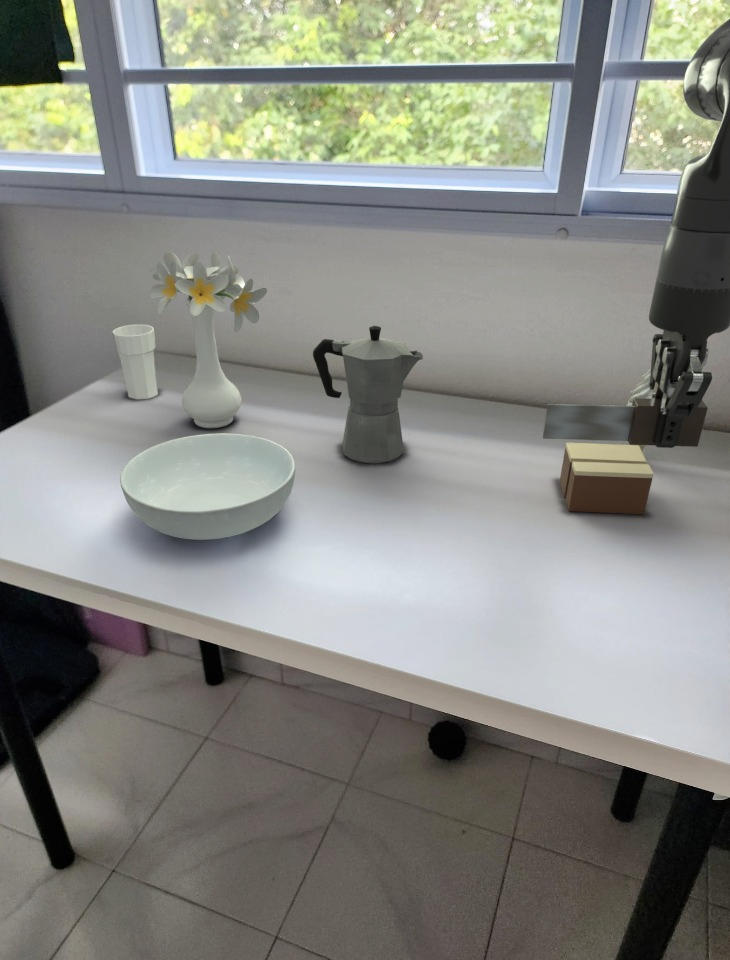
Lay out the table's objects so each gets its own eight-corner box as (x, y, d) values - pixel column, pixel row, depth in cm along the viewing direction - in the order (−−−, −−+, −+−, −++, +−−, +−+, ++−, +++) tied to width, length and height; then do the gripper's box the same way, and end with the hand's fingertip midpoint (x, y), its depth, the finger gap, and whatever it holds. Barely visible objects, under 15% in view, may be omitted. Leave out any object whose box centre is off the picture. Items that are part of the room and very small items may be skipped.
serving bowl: (321, 490, 98) (320, 442, 95) (255, 578, 82) (250, 524, 78) (181, 468, 105) (175, 422, 101) (94, 545, 88) (82, 494, 84)
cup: (153, 402, 125) (143, 337, 119) (116, 399, 127) (105, 335, 121) (168, 388, 131) (160, 325, 125) (134, 385, 132) (123, 323, 126)
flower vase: (248, 447, 110) (234, 270, 96) (146, 426, 117) (119, 259, 103) (289, 414, 120) (282, 250, 106) (193, 397, 127) (175, 241, 113)
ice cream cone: (616, 468, 102) (639, 361, 94) (613, 452, 106) (635, 348, 98) (656, 471, 101) (682, 364, 93) (651, 455, 105) (676, 351, 97)
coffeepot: (425, 442, 110) (432, 320, 100) (409, 470, 103) (415, 341, 93) (326, 429, 115) (324, 311, 105) (304, 455, 107) (299, 330, 97)
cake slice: (639, 504, 94) (648, 464, 91) (643, 514, 92) (653, 473, 89) (565, 501, 95) (572, 461, 92) (568, 511, 93) (575, 470, 90)
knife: (692, 438, 82) (702, 399, 79) (697, 447, 80) (708, 407, 78) (541, 434, 84) (547, 396, 81) (543, 442, 82) (549, 403, 80)
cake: (630, 484, 98) (639, 445, 95) (637, 501, 94) (647, 461, 91) (559, 480, 99) (566, 442, 96) (564, 497, 96) (571, 458, 93)
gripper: (766, 295, 66) (716, 471, 75) (718, 259, 77) (680, 416, 87) (676, 295, 67) (638, 468, 76) (642, 259, 78) (613, 414, 88)
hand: (661, 439), depth 81 cm, fingers closed on knife, 2 cm apart
